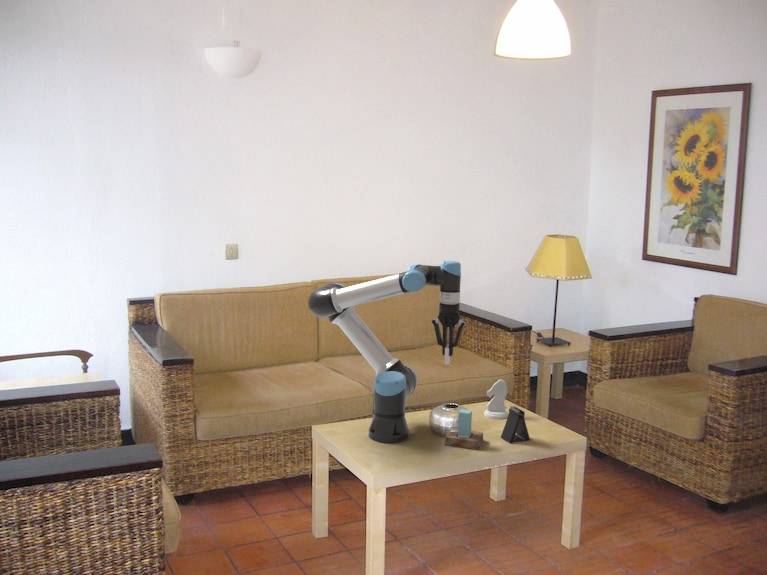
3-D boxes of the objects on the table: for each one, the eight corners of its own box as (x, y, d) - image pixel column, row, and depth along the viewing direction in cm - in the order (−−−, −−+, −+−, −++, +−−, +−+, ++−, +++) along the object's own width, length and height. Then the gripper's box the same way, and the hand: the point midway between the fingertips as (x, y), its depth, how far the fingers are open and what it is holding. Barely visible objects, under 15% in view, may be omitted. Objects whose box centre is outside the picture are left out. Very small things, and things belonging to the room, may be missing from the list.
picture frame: (520, 435, 298) (522, 404, 296) (529, 440, 293) (531, 409, 291) (500, 438, 294) (502, 407, 292) (509, 443, 289) (511, 412, 287)
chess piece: (482, 411, 325) (484, 376, 323) (506, 411, 326) (507, 376, 323) (485, 419, 316) (487, 383, 313) (510, 419, 316) (512, 383, 313)
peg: (457, 443, 287) (458, 412, 285) (459, 440, 291) (461, 409, 289) (468, 445, 286) (469, 413, 284) (470, 441, 290) (472, 410, 288)
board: (444, 444, 286) (445, 437, 285) (451, 436, 295) (451, 428, 295) (477, 449, 282) (477, 441, 282) (483, 440, 291) (483, 432, 291)
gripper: (430, 302, 291) (427, 364, 295) (464, 305, 287) (461, 368, 291) (435, 299, 298) (433, 359, 302) (468, 302, 294) (466, 363, 298)
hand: (447, 363), depth 297 cm, fingers closed
